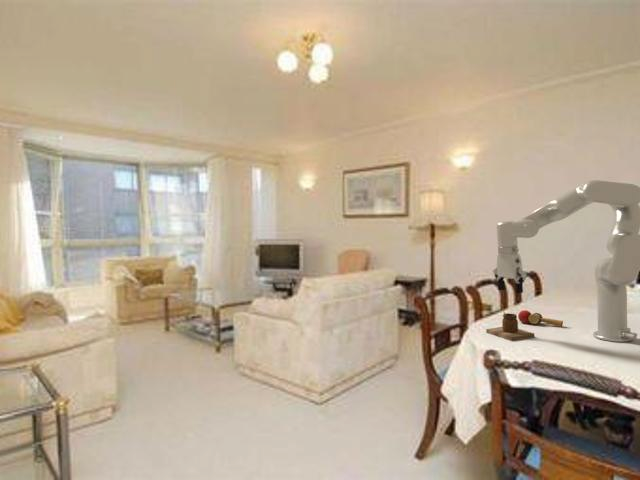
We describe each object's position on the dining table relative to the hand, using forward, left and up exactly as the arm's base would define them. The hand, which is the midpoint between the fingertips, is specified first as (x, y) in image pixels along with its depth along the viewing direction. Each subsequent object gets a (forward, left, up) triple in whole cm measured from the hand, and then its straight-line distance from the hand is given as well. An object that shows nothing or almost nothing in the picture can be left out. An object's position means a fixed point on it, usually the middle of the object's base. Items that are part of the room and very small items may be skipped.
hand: (510, 291), depth 169 cm
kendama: (+7, -24, -19) cm, 31 cm away
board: (0, +1, -18) cm, 18 cm away
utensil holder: (0, 0, -17) cm, 17 cm away
